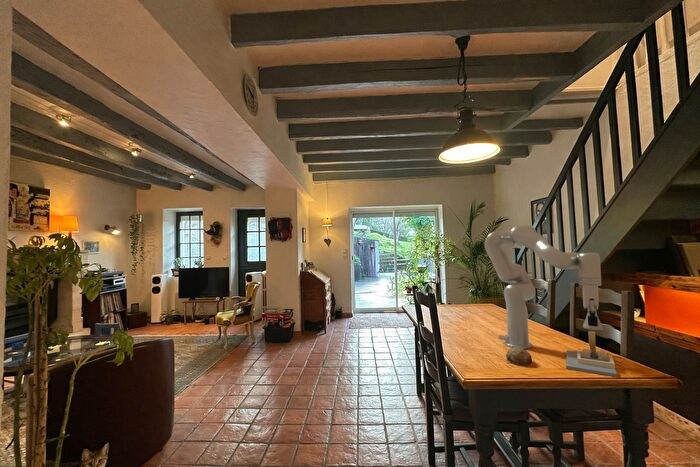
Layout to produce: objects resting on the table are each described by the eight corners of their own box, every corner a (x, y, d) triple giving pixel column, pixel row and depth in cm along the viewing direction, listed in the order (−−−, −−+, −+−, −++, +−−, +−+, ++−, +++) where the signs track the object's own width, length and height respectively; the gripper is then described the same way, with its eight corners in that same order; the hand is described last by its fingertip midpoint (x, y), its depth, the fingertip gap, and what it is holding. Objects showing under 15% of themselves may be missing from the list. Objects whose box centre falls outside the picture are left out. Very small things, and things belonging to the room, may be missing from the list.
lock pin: (590, 356, 139) (589, 338, 140) (589, 348, 151) (588, 331, 152) (597, 357, 138) (596, 339, 138) (595, 349, 150) (594, 331, 150)
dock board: (566, 368, 130) (565, 359, 130) (567, 352, 150) (566, 344, 150) (617, 377, 121) (616, 366, 121) (610, 358, 141) (610, 350, 141)
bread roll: (504, 367, 142) (498, 352, 141) (518, 354, 146) (512, 339, 145) (524, 375, 133) (518, 359, 132) (539, 361, 137) (532, 345, 136)
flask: (607, 331, 131) (606, 306, 131) (587, 330, 132) (586, 306, 133) (598, 327, 138) (596, 303, 138) (579, 326, 139) (578, 303, 140)
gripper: (579, 279, 145) (581, 319, 144) (579, 283, 131) (582, 327, 130) (599, 280, 141) (602, 321, 140) (602, 283, 127) (605, 329, 126)
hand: (592, 324), depth 135 cm, fingers closed on flask, 4 cm apart
